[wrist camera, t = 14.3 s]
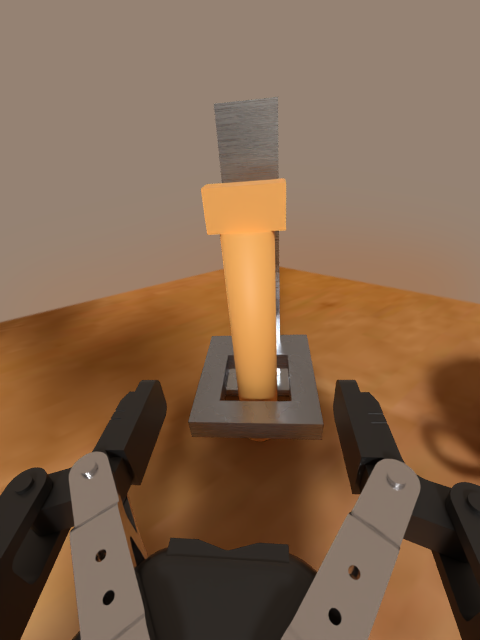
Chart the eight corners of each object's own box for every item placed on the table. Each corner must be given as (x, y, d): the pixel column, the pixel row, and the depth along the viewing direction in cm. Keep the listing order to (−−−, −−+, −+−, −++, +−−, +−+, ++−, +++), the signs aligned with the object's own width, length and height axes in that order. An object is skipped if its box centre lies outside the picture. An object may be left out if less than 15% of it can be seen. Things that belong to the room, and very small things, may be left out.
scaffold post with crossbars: (317, 475, 22) (365, 54, 9) (201, 471, 23) (99, 86, 10) (292, 299, 45) (295, 111, 33) (235, 300, 46) (217, 119, 34)
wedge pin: (233, 440, 25) (197, 191, 14) (237, 411, 28) (208, 182, 17) (285, 441, 25) (286, 184, 14) (283, 411, 27) (284, 176, 17)
